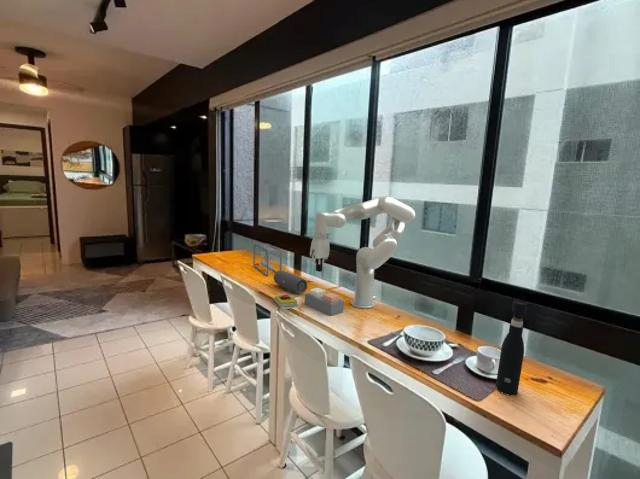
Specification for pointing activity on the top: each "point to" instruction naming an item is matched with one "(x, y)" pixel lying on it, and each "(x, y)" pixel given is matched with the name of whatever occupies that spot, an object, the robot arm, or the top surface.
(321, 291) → the key white
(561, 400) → the top surface
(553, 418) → the top surface
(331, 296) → the key terracotta
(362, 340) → the top surface
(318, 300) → the key box
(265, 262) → the newton's cradle
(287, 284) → the bluetooth speaker
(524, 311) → the black water bottle
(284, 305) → the emergency button
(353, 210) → the robot arm
